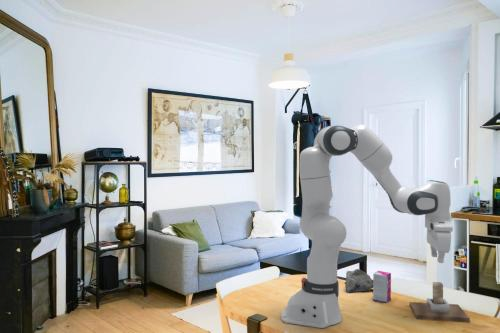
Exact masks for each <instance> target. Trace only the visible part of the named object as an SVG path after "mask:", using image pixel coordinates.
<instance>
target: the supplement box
mask: <svg viewBox="0 0 500 333" xmlns="http://www.w3.org/2000/svg"><path fill="white" fill-rule="evenodd" d="M372 280H373V288H372V289H373V292H372V301H374V302H377V301H378V302H379V303H382V302H383V304H387V303H388V302H389V301H391V300H392V299H391V295H392V294H391V293H392V292H391V290H392V273H391V272H388V271H387V272H386V271H382V270H376V271H375V272H373V278H372Z"/></svg>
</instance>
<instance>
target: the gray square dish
mask: <svg viewBox="0 0 500 333" xmlns="http://www.w3.org/2000/svg"><path fill="white" fill-rule="evenodd" d="M426 303H427V307H428V309H429V310H430V312H436V313H450V305H449V304H450V303H448V301H447V300H446V299H445V298H443V304H434V303H433V298H430V297H429V298H426Z"/></svg>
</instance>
